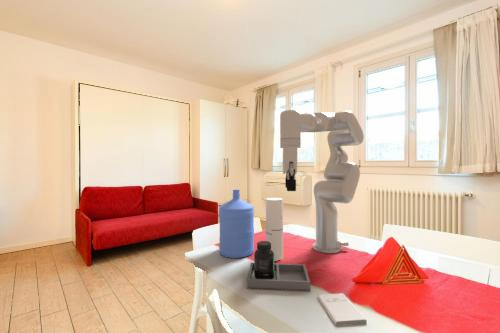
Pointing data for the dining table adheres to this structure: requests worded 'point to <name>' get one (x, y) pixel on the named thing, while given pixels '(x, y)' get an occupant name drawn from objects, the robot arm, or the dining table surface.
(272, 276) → the supplement bottle
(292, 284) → the sorting tray
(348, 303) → the external hard drive
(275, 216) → the cylindrical container
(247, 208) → the water jug
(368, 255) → the dining table surface
